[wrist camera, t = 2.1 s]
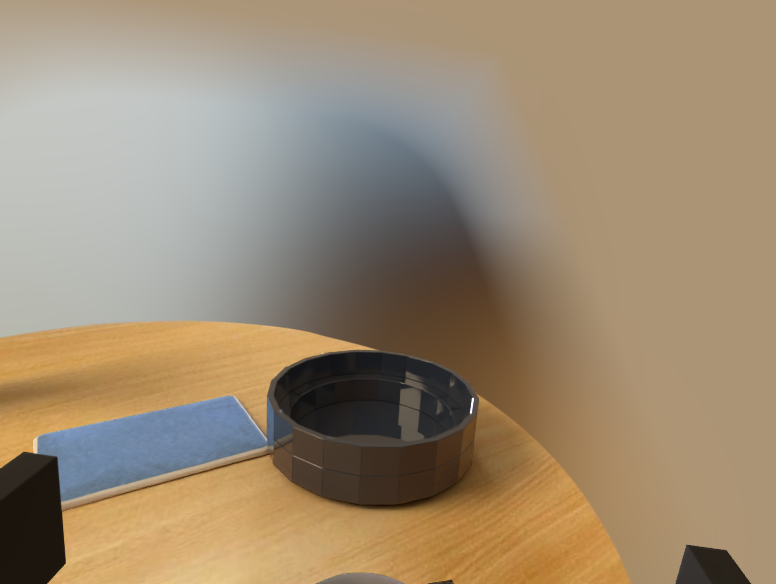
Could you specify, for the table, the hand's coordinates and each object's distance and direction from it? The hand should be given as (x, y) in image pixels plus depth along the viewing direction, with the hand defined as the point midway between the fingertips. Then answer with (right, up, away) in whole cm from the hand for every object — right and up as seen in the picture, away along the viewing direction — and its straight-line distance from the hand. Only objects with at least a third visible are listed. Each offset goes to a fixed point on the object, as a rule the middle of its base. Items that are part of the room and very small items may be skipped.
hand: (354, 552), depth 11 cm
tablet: (-22, -10, +39) cm, 46 cm away
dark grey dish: (-1, -10, +42) cm, 43 cm away
